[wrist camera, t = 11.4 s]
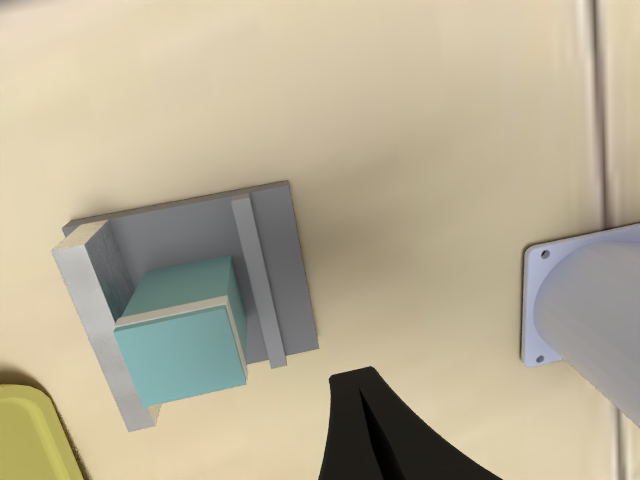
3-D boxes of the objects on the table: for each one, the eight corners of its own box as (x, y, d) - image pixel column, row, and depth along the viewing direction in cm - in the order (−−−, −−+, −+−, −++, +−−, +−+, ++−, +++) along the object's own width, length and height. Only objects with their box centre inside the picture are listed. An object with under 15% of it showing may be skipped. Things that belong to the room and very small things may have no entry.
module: (231, 253, 20) (226, 307, 16) (248, 318, 22) (247, 385, 17) (143, 271, 20) (111, 331, 15) (166, 336, 21) (142, 409, 17)
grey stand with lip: (287, 180, 20) (290, 190, 19) (316, 337, 24) (321, 357, 22) (70, 220, 20) (54, 234, 18) (133, 377, 23) (123, 401, 21)
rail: (108, 219, 19) (83, 244, 16) (167, 381, 22) (155, 425, 19) (80, 224, 19) (50, 251, 16) (143, 387, 22) (128, 431, 19)
